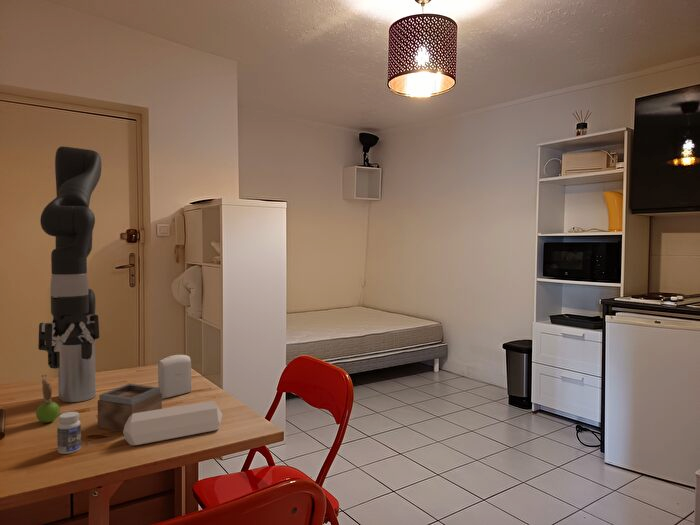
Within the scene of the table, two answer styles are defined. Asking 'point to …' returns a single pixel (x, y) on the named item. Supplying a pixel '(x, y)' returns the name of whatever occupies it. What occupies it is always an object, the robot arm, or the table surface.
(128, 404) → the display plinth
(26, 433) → the table surface
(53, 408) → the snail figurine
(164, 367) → the photo printer
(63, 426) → the pill bottle
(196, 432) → the crystal
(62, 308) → the robot arm
